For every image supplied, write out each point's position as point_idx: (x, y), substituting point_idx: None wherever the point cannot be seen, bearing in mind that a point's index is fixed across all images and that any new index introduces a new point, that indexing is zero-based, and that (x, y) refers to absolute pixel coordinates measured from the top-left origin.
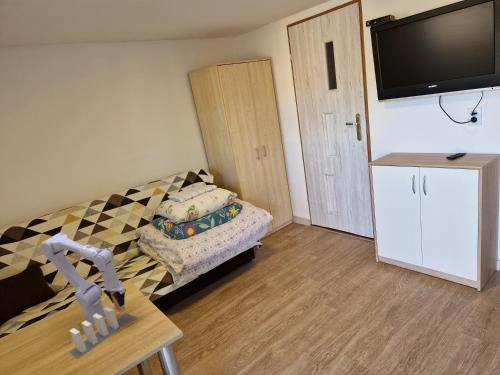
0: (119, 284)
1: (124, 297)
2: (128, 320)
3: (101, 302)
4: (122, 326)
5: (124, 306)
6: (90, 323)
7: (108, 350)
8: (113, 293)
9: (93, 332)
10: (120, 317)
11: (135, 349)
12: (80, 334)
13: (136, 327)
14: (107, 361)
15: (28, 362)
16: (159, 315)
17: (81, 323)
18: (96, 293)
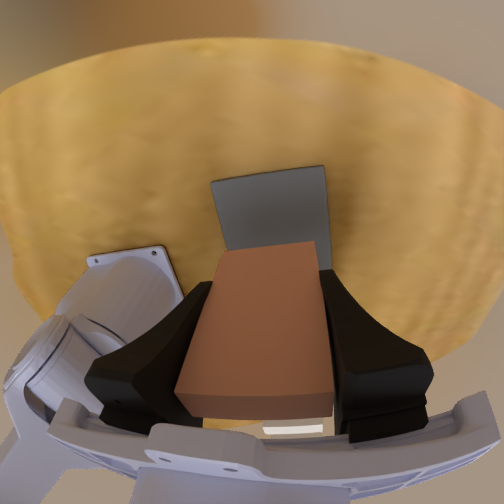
0: (337, 485)
1: (358, 304)
2: (310, 208)
3: (110, 317)
4: (329, 252)
5: (316, 256)
6: (315, 425)
7: (394, 332)
8: (267, 414)
9: None
10: (231, 222)
11: (483, 277)
12: (321, 432)
13: (399, 208)
14: (429, 345)
15: (207, 420)
16: (429, 79)
17: (267, 433)
18: (84, 385)
